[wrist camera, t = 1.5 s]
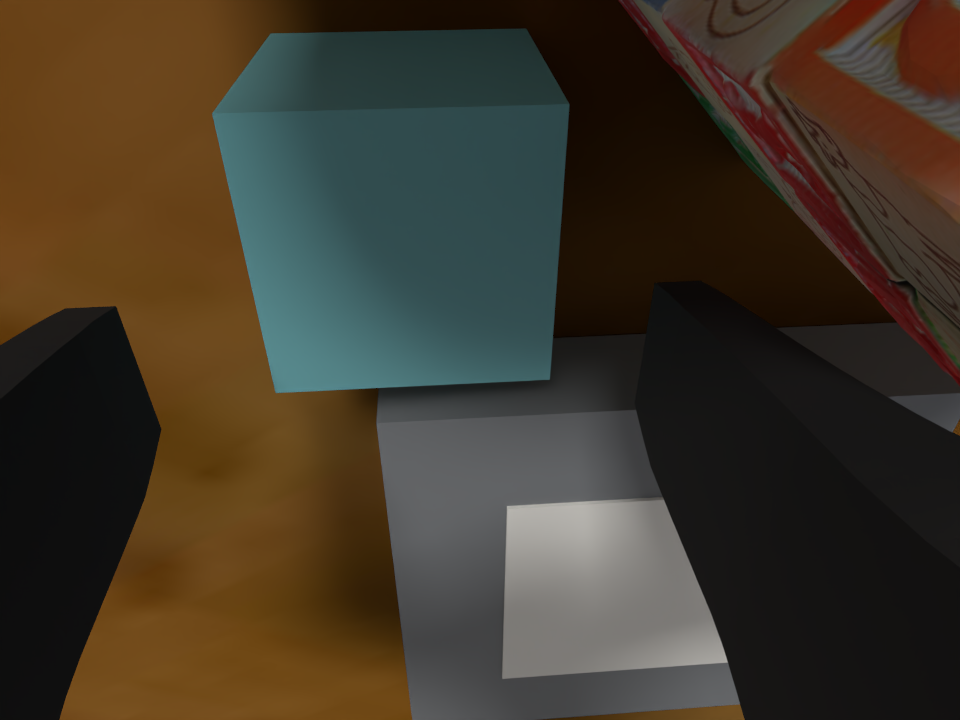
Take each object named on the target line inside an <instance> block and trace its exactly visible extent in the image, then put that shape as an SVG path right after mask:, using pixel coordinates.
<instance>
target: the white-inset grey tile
mask: <svg viewBox="0 0 960 720" xmlns="http://www.w3.org/2000/svg"><path fill="white" fill-rule="evenodd" d="M777 329H778V330H780V331H781V332H783V333H784V334H786V335H787V336H789V337H790V338H792V339H794V340H795V341H797V342H798V343H800V344H801V345H803V346H804V347H806V348H807V349H809V350H811V351H812V352H814V353H815V354H817V355H818V356H820V357H822V358H823V359H825V360H826V361H828V362H829V363H831V364H833V365H834V366H836V367H837V368H839V369H841V370H842V371H844V372H846V373H847V374H849V375H851V376H852V377H854V378H856V379H857V380H859V381H861V382H862V383H864V384H866V385H867V386H869V387H871V388H873V389H874V390H876V391H878V392H880V393H881V394H883V395H885V396H887V397H888V398H890V399H892V400H894V401H895V402H897V403H899V404H901V405H902V406H904V407H906V408H908V409H909V410H911V411H913V412H915V413H916V414H918V415H920V416H922V417H924V418H926V419H928V420H930V421H931V422H933V423H935V424H937V425H939V426H941V427H943V428H945V429H947V430H949V431H951V432H953V430H954V428H955V426H956V425H957V423H958V421H959V419H960V386H959V385H958V384H957V382H956V381H955V380H954V379H953V377H952V376H950V375H949V374H947V373H946V372H944V371H943V370H942V369H941V368H940V367H939V366H938V364H937V363H936V362H935V361H934V360H933V359H932V357H931V356H930V355H929V354H928V353H927V352H926V350H925V349H924V348H923V347H922V346H921V345H919V344H918V343H917V342H916V341H915V340H914V339H913V338H912V337H911V336H910V335H909V334H908V333H907V332H906V331H905V330H903V329H902V328H901V327H900V325H899V324H898V323H897V322H896V323H874V324H852V325H830V326H808V327H786V328H777ZM645 338H646V334H631V335H609V336H587V337H565V338H553V343H552V357H551V371H550V380H533V381H512V382H491V383H470V384H450V385H429V386H408V387H387V388H379V392H378V407H377V422H376V424H377V432H378V440H379V449H380V457H381V465H382V473H383V481H384V490H385V498H386V506H387V514H388V523H389V531H390V539H391V547H392V555H393V564H394V572H395V580H396V588H397V597H398V605H399V613H400V621H401V630H402V638H403V646H404V654H405V662H406V671H407V679H408V687H409V695H410V704H411V712H412V720H539V719H552V718H565V717H578V716H591V715H604V714H617V713H631V712H644V711H657V710H670V709H683V708H696V707H709V706H722V705H735V704H740V702H739V698H738V695H737V692H736V688H735V685H734V682H733V678H732V675H731V672H730V668H729V665H728V662H727V658H726V655H725V651H724V648H723V645H722V643H721V640H720V637H719V634H718V632H717V629H716V626H715V623H714V621H713V618H712V615H711V613H710V610H709V608H708V605H707V603H706V600H705V598H704V596H703V593H702V591H701V588H700V586H699V584H698V581H697V579H696V576H695V574H694V572H693V569H692V567H691V564H690V562H689V560H688V557H687V555H686V552H685V550H684V547H683V545H682V543H681V540H680V538H679V535H678V533H677V531H676V528H675V526H674V523H673V521H672V519H671V516H670V514H669V511H668V509H667V506H666V504H665V501H664V499H663V496H662V494H661V492H660V489H659V487H658V484H657V482H656V479H655V476H654V474H653V471H652V469H651V466H650V462H649V459H648V455H647V451H646V448H645V444H644V440H643V436H642V432H641V428H640V424H639V420H638V416H637V412H636V407H635V398H636V392H637V386H638V380H639V374H640V368H641V362H642V356H643V350H644V344H645Z"/></svg>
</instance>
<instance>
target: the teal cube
mask: <svg viewBox="0 0 960 720" xmlns="http://www.w3.org/2000/svg"><path fill="white" fill-rule="evenodd" d="M212 115H213V119H214V124H215V128H216V132H217V137H218V141H219V146H220V150H221V154H222V159H223V163H224V168H225V172H226V176H227V181H228V185H229V190H230V194H231V198H232V203H233V207H234V212H235V216H236V220H237V225H238V229H239V234H240V238H241V242H242V247H243V251H244V256H245V260H246V264H247V269H248V273H249V277H250V282H251V286H252V291H253V295H254V299H255V304H256V308H257V313H258V317H259V321H260V326H261V330H262V335H263V339H264V343H265V348H266V352H267V357H268V361H269V365H270V370H271V374H272V379H273V383H274V387H275V392H276V393H284V392H304V391H325V390H346V389H367V388H387V387H408V386H429V385H450V384H470V383H491V382H512V381H533V380H550V371H551V357H552V343H553V329H554V315H555V301H556V287H557V273H558V259H559V245H560V231H561V217H562V203H563V189H564V174H565V160H566V146H567V132H568V118H569V102H568V101H567V99H566V97H565V95H564V94H563V92H562V90H561V88H560V87H559V85H558V83H557V81H556V80H555V78H554V76H553V74H552V73H551V71H550V69H549V67H548V66H547V64H546V62H545V61H544V59H543V57H542V55H541V54H540V52H539V50H538V48H537V47H536V45H535V43H534V41H533V40H532V38H531V36H530V34H529V33H528V31H527V29H475V30H425V31H374V32H323V33H273V34H270V35H269V36H268V38H267V39H266V41H265V42H264V43H263V45H262V46H261V47H260V49H259V50H258V51H257V53H256V54H255V56H254V57H253V58H252V60H251V61H250V62H249V64H248V65H247V66H246V68H245V69H244V71H243V72H242V73H241V75H240V76H239V77H238V79H237V80H236V82H235V83H234V84H233V86H232V87H231V88H230V90H229V91H228V92H227V94H226V95H225V97H224V98H223V99H222V101H221V102H220V103H219V105H218V106H217V108H216V109H215V110H214V112H213V113H212Z"/></svg>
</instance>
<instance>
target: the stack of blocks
mask: <svg viewBox="0 0 960 720" xmlns="http://www.w3.org/2000/svg"><path fill="white" fill-rule="evenodd" d="M618 1H619V2H620V4H621V5H622V6H623V8H624V9H625V10H626V12H627V13H628V14H629V15H630V17H631V18H632V19H633V20H634V21H635V23H636V24H637V25H638V26H639V28H640V29H641V30H642V32H643V33H644V34H645V35H646V37H647V38H648V39H649V41H650V42H651V43H652V44H653V46H654V47H655V48H656V50H657V51H658V53H659V54H660V55H661V57H662V58H663V59H664V60H665V61H666V62H667V63H668V64H669V65H670V66H671V67H672V68H673V69H674V70H675V71H676V72H677V73H678V74H679V76H680V77H681V78H682V80H683V81H684V82H685V84H686V85H687V86H688V88H689V89H690V90H691V92H692V93H693V94H694V96H695V97H696V98H697V100H698V101H699V102H700V104H701V105H702V106H703V108H704V109H705V110H706V112H707V113H708V114H709V116H710V117H711V118H712V120H713V121H714V122H715V123H716V125H717V126H718V127H719V129H720V130H721V131H722V133H723V134H724V135H725V136H726V138H727V139H728V140H729V141H730V143H731V144H732V145H733V147H734V148H735V150H736V151H737V153H738V154H739V156H740V157H741V159H742V160H743V161H744V162H745V163H746V164H747V165H748V167H749V168H750V169H751V170H752V171H753V172H754V173H755V174H756V175H757V176H758V177H759V178H760V179H761V180H762V181H763V182H764V183H765V184H766V185H767V186H768V187H769V188H770V189H771V190H772V191H773V192H774V193H775V194H776V195H777V196H778V197H780V198H781V199H782V200H783V201H784V202H785V203H786V204H787V205H788V207H789V208H790V209H792V210H793V211H794V212H795V213H796V214H797V215H798V216H799V217H800V219H801V220H802V221H803V222H804V223H805V224H806V225H807V226H808V227H809V228H810V229H811V230H812V231H813V233H814V234H815V235H816V236H817V237H818V238H819V239H820V240H821V241H822V242H823V243H824V244H825V245H826V246H827V247H828V248H829V250H830V251H831V252H832V253H833V254H834V255H835V256H836V257H837V258H838V259H839V260H840V261H841V262H842V263H843V264H844V265H845V266H846V267H847V268H848V269H849V270H850V271H851V272H852V274H853V275H854V276H855V277H856V278H857V279H858V280H859V281H860V282H861V283H862V284H863V285H864V286H865V287H866V288H867V289H868V290H869V291H870V292H871V293H872V294H874V296H875V297H876V298H877V299H878V301H879V302H880V303H881V304H882V306H883V307H884V308H885V309H886V310H887V311H888V313H889V314H890V315H891V316H892V317H893V318H894V319H895V320H896V321H897V323H898V324H899V325H900V327H901V328H902V329H903V330H905V331H906V332H907V333H908V334H909V335H910V336H911V337H912V338H913V339H914V340H915V341H916V342H917V343H918V344H919V345H921V346H922V347H923V348H924V349H925V350H926V352H927V353H928V354H929V355H930V356H931V357H932V359H933V360H934V361H935V362H936V363H937V364H938V366H939V367H940V368H941V369H942V370H943V371H944V372H946V373H947V374H949V375H950V376H952V377H953V379H954V380H955V381H956V382H957V384H958V385H959V386H960V0H618Z"/></svg>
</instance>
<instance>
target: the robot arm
mask: <svg viewBox="0 0 960 720" xmlns="http://www.w3.org/2000/svg"><path fill="white" fill-rule="evenodd" d="M635 407H636V412H637V416H638V420H639V424H640V428H641V432H642V436H643V440H644V444H645V448H646V451H647V455H648V459H649V462H650V466H651V469H652V471H653V474H654V476H655V479H656V482H657V484H658V487H659V489H660V492H661V494H662V496H663V499H664V501H665V504H666V506H667V509H668V511H669V514H670V516H671V519H672V521H673V523H674V526H675V528H676V531H677V533H678V535H679V538H680V540H681V543H682V545H683V547H684V550H685V552H686V555H687V557H688V560H689V562H690V564H691V567H692V569H693V572H694V574H695V576H696V579H697V581H698V584H699V586H700V588H701V591H702V593H703V596H704V598H705V600H706V603H707V605H708V608H709V610H710V613H711V615H712V618H713V621H714V623H715V626H716V629H717V632H718V634H719V637H720V640H721V643H722V645H723V648H724V651H725V655H726V658H727V662H728V665H729V668H730V672H731V675H732V678H733V682H734V685H735V688H736V692H737V695H738V698H739V702H740V705H741V708H742V712H743V715H744V718H745V720H960V436H959V435H957V434H955V433H953V432H951V431H949V430H947V429H945V428H943V427H941V426H939V425H937V424H935V423H933V422H931V421H930V420H928V419H926V418H924V417H922V416H920V415H918V414H916V413H915V412H913V411H911V410H909V409H908V408H906V407H904V406H902V405H901V404H899V403H897V402H895V401H894V400H892V399H890V398H888V397H887V396H885V395H883V394H881V393H880V392H878V391H876V390H874V389H873V388H871V387H869V386H867V385H866V384H864V383H862V382H861V381H859V380H857V379H856V378H854V377H852V376H851V375H849V374H847V373H846V372H844V371H842V370H841V369H839V368H837V367H836V366H834V365H833V364H831V363H829V362H828V361H826V360H825V359H823V358H822V357H820V356H818V355H817V354H815V353H814V352H812V351H811V350H809V349H807V348H806V347H804V346H803V345H801V344H800V343H798V342H797V341H795V340H794V339H792V338H790V337H789V336H787V335H786V334H784V333H783V332H781V331H780V330H778V329H777V328H775V327H774V326H772V325H771V324H769V323H768V322H766V321H765V320H763V319H762V318H760V317H759V316H757V315H756V314H754V313H753V312H751V311H749V310H748V309H746V308H745V307H743V306H742V305H740V304H739V303H737V302H736V301H734V300H733V299H731V298H729V297H728V296H726V295H725V294H723V293H721V292H720V291H718V290H716V289H715V288H713V287H711V286H709V285H708V284H706V283H704V282H702V281H686V282H663V283H655V284H654V290H653V296H652V302H651V308H650V314H649V320H648V326H647V332H646V338H645V344H644V350H643V356H642V362H641V368H640V374H639V380H638V386H637V392H636V398H635ZM160 432H161V427H160V424H159V422H158V419H157V416H156V414H155V411H154V408H153V405H152V403H151V400H150V397H149V395H148V392H147V389H146V386H145V384H144V381H143V378H142V376H141V373H140V370H139V368H138V365H137V362H136V359H135V357H134V354H133V351H132V349H131V346H130V343H129V340H128V338H127V335H126V332H125V330H124V327H123V324H122V321H121V319H120V316H119V313H118V311H117V308H116V306H113V307H90V308H67V309H64V310H62V311H60V312H58V313H56V314H54V315H51V316H49V317H48V318H46V319H44V320H42V321H40V322H39V323H37V324H35V325H33V326H32V327H30V328H28V329H27V330H25V331H23V332H22V333H20V334H18V335H17V336H15V337H13V338H12V339H10V340H8V341H7V342H5V343H4V344H2V345H0V720H59V718H60V715H61V711H62V708H63V705H64V701H65V698H66V695H67V692H68V690H69V687H70V684H71V681H72V678H73V676H74V673H75V670H76V667H77V665H78V662H79V659H80V657H81V654H82V652H83V649H84V647H85V644H86V642H87V639H88V637H89V635H90V632H91V630H92V627H93V625H94V622H95V620H96V618H97V615H98V613H99V610H100V608H101V605H102V603H103V600H104V598H105V596H106V593H107V591H108V588H109V586H110V583H111V581H112V579H113V576H114V574H115V571H116V569H117V566H118V564H119V562H120V559H121V557H122V554H123V552H124V549H125V547H126V544H127V542H128V539H129V537H130V534H131V532H132V529H133V527H134V524H135V522H136V519H137V517H138V514H139V511H140V509H141V506H142V504H143V501H144V498H145V495H146V491H147V487H148V484H149V480H150V476H151V472H152V468H153V464H154V460H155V455H156V450H157V446H158V441H159V437H160Z"/></svg>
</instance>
